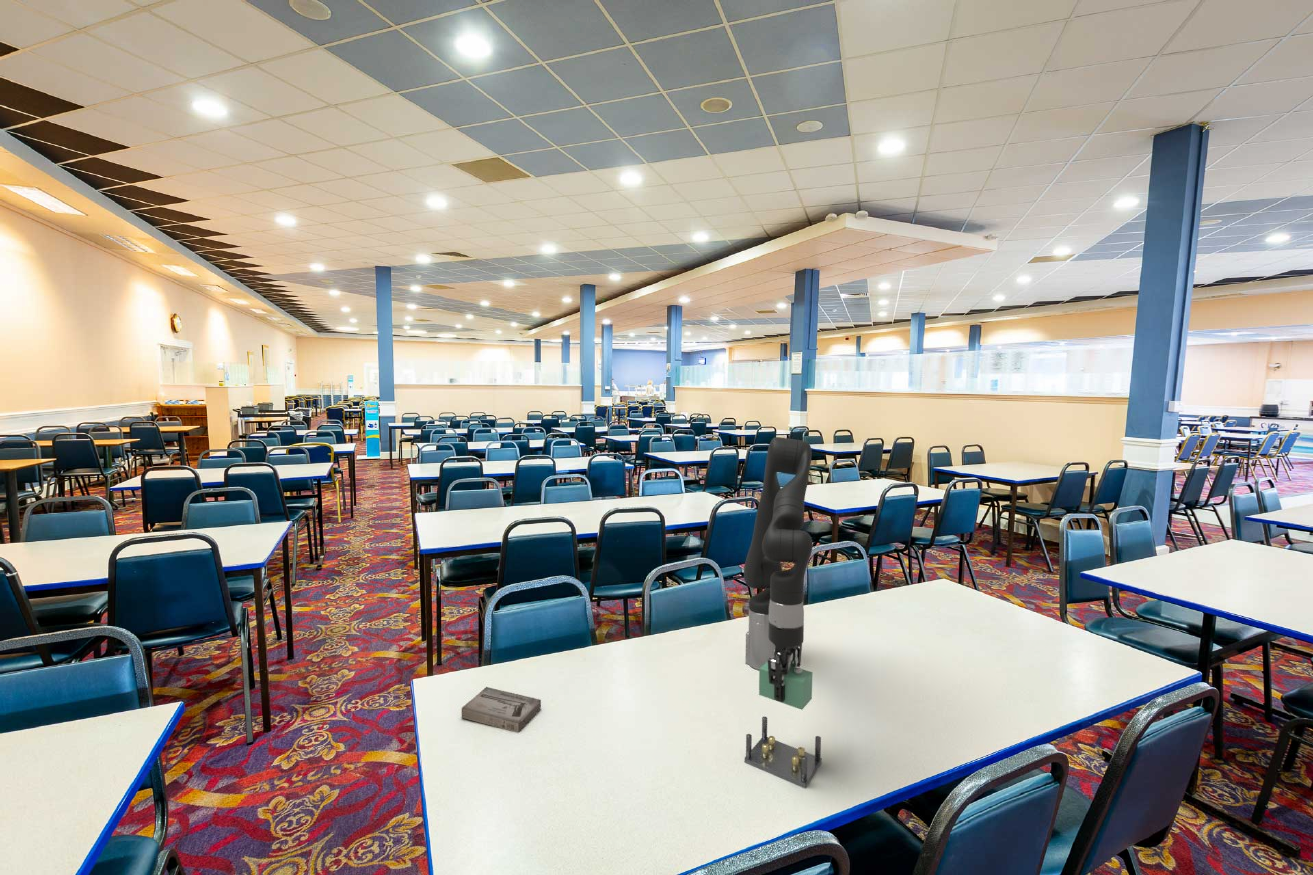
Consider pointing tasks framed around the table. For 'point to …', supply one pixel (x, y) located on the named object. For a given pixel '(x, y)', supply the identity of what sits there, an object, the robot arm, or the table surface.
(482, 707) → the box
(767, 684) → the module block
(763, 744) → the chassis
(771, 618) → the robot arm
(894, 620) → the table surface
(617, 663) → the table surface
